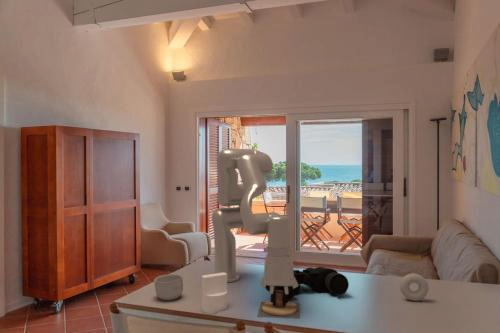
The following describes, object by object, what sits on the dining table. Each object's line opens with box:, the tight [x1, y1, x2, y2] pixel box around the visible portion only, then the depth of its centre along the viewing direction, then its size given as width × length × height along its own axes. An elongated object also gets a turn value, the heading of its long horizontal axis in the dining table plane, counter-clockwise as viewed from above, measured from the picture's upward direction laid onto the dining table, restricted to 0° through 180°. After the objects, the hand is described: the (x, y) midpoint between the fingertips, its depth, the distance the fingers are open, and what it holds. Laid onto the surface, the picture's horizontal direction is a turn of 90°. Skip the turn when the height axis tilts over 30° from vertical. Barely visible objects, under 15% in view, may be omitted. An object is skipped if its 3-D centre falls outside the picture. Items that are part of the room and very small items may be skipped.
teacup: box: [153, 272, 184, 301], centre depth 152 cm, size 14×11×8 cm
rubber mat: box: [256, 301, 301, 320], centre depth 135 cm, size 14×14×1 cm
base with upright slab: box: [201, 272, 228, 315], centre depth 139 cm, size 9×9×12 cm
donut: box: [399, 272, 430, 302], centre depth 145 cm, size 10×4×10 cm, turn 78°
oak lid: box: [262, 290, 297, 316], centre depth 135 cm, size 12×12×6 cm
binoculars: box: [274, 266, 350, 301], centre depth 156 cm, size 29×20×10 cm
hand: (279, 304), depth 135 cm, fingers closed on oak lid, 3 cm apart
